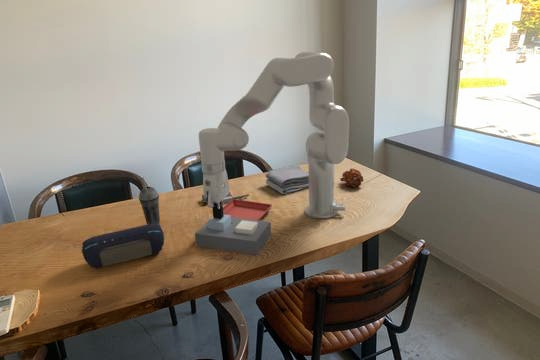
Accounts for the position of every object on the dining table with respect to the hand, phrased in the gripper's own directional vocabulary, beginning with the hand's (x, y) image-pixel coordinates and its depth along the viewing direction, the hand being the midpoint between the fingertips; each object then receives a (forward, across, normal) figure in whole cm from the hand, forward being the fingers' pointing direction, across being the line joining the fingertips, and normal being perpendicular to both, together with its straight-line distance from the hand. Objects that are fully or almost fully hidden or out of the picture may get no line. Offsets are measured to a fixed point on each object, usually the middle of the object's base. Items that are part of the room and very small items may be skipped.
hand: (218, 217), depth 136 cm
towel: (+8, +53, -10) cm, 54 cm away
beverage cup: (+9, +3, +30) cm, 31 cm away
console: (+8, 0, -5) cm, 10 cm away
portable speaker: (+9, -19, +24) cm, 32 cm away
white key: (+7, 0, -10) cm, 12 cm away
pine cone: (+8, +59, -36) cm, 70 cm away
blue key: (+5, 0, 0) cm, 5 cm away
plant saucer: (+9, +18, -1) cm, 20 cm away
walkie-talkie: (+9, +32, +14) cm, 36 cm away
